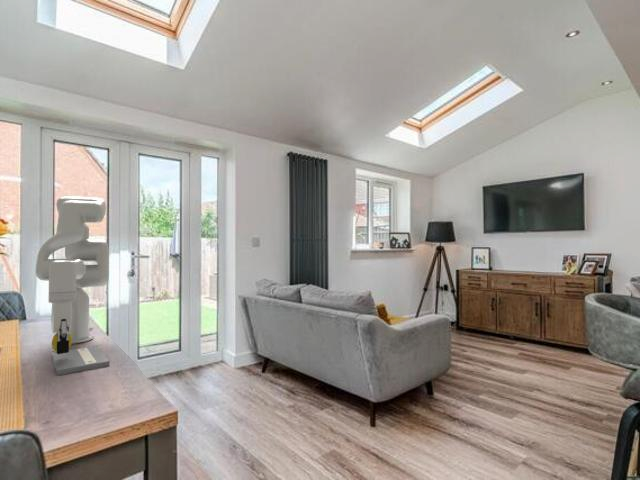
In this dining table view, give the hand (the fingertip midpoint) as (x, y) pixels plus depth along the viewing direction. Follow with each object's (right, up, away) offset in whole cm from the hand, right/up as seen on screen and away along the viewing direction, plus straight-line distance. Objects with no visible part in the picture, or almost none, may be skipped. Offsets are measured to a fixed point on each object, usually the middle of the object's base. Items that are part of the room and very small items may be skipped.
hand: (61, 350), depth 122 cm
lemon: (0, -1, 0) cm, 1 cm away
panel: (+4, -5, +3) cm, 7 cm away
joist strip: (+5, -3, +4) cm, 8 cm away
